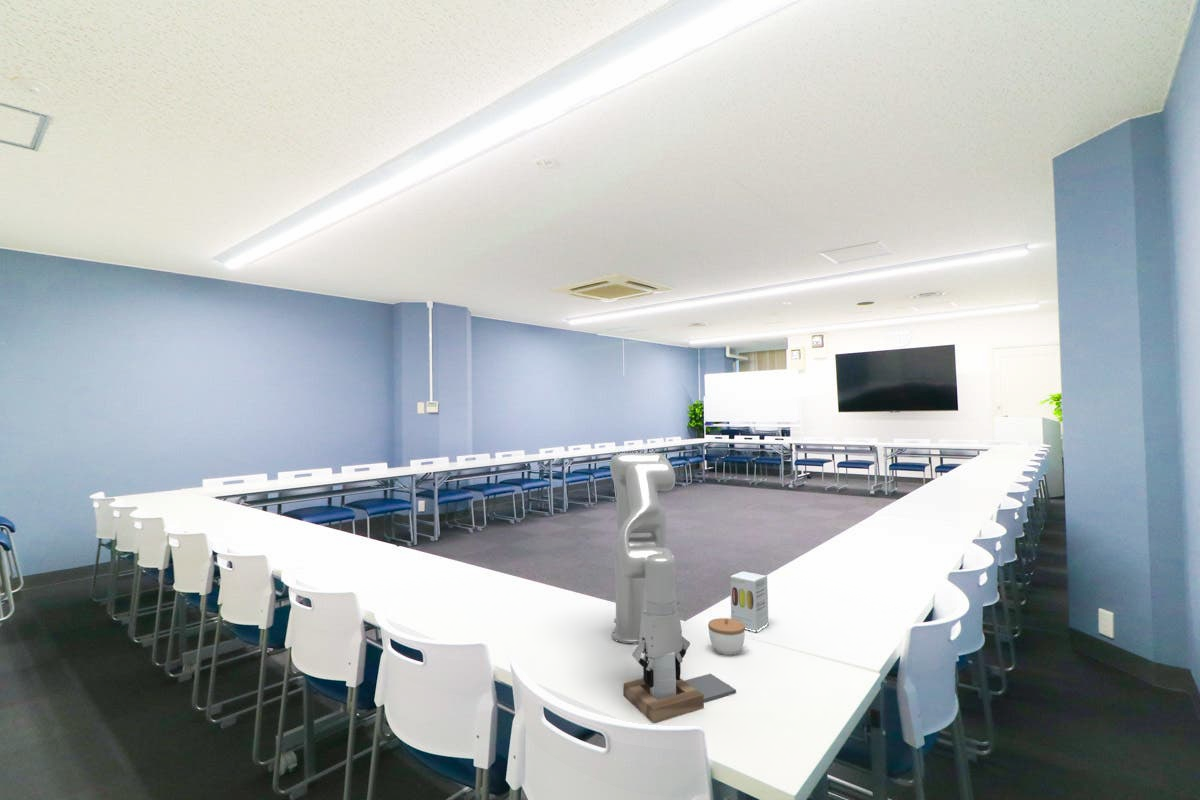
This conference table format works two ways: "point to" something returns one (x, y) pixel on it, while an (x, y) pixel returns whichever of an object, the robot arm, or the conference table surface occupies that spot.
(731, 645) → the lidded jar
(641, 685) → the frame
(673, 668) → the skincare box
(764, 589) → the supplement box
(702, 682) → the pad
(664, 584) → the robot arm
